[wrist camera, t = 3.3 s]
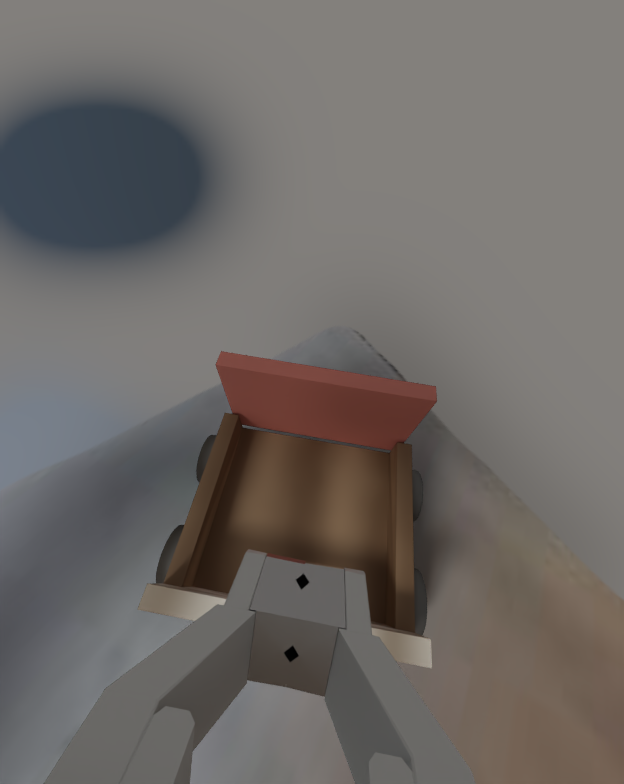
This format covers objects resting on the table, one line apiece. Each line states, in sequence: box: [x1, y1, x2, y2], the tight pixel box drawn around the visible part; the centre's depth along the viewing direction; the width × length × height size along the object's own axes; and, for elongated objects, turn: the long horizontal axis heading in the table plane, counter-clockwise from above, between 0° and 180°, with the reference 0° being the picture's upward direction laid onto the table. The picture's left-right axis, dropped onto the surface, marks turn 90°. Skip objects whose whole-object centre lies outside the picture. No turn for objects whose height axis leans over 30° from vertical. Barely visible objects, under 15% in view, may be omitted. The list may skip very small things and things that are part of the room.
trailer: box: [138, 413, 432, 668], centre depth 24 cm, size 19×14×9 cm
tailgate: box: [216, 351, 437, 450], centre depth 24 cm, size 15×2×9 cm, turn 81°
